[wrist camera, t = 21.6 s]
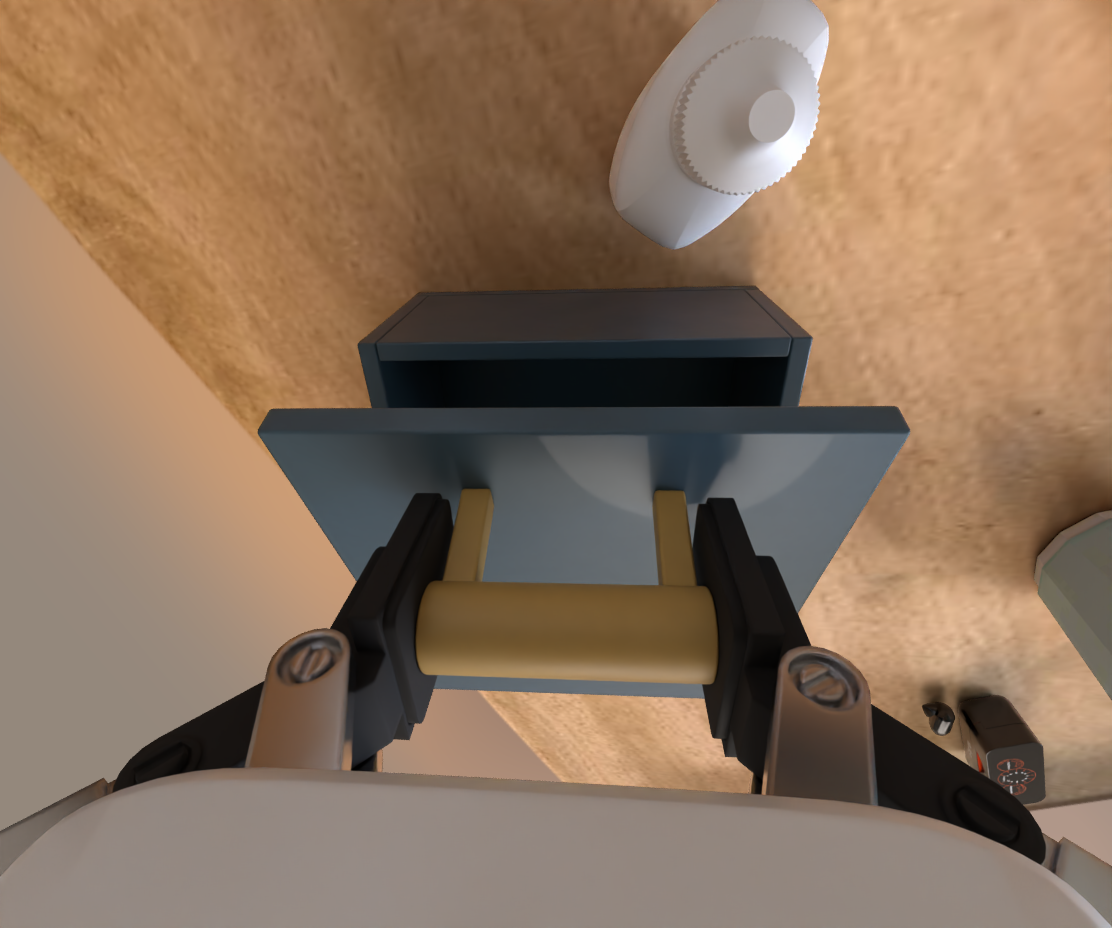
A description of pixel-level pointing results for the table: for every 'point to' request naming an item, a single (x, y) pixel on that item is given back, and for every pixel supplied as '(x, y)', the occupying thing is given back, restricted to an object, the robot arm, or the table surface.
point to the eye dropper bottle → (720, 118)
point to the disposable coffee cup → (1082, 590)
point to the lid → (584, 524)
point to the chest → (587, 350)
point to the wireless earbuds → (996, 744)
